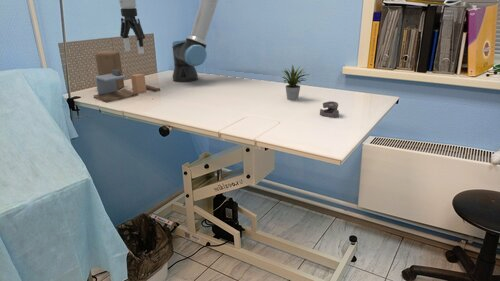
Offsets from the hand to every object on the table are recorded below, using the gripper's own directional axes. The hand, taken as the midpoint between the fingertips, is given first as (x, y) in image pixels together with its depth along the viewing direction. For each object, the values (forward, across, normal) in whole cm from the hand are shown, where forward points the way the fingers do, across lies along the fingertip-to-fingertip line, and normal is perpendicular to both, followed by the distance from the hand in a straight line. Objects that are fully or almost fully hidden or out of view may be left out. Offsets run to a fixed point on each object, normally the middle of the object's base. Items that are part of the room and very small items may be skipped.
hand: (134, 52), depth 185 cm
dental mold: (+21, +99, +31) cm, 105 cm away
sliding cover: (+19, 0, -15) cm, 24 cm away
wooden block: (+21, -18, -6) cm, 28 cm away
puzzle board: (+21, 0, -7) cm, 22 cm away
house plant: (+21, +72, +39) cm, 84 cm away
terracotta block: (+21, 0, 0) cm, 21 cm away
